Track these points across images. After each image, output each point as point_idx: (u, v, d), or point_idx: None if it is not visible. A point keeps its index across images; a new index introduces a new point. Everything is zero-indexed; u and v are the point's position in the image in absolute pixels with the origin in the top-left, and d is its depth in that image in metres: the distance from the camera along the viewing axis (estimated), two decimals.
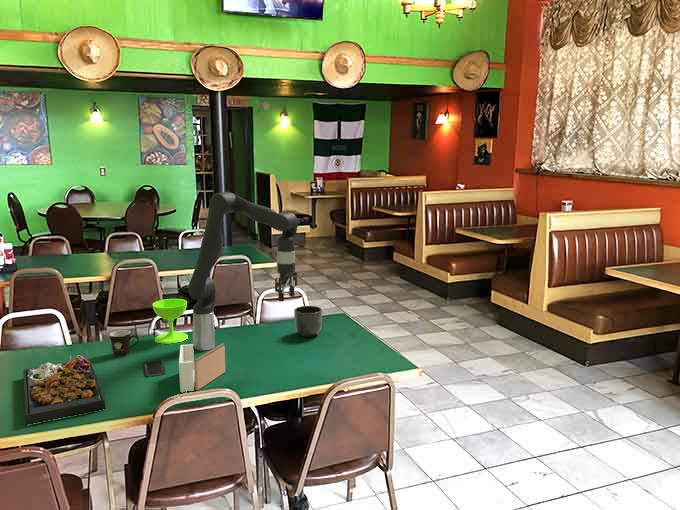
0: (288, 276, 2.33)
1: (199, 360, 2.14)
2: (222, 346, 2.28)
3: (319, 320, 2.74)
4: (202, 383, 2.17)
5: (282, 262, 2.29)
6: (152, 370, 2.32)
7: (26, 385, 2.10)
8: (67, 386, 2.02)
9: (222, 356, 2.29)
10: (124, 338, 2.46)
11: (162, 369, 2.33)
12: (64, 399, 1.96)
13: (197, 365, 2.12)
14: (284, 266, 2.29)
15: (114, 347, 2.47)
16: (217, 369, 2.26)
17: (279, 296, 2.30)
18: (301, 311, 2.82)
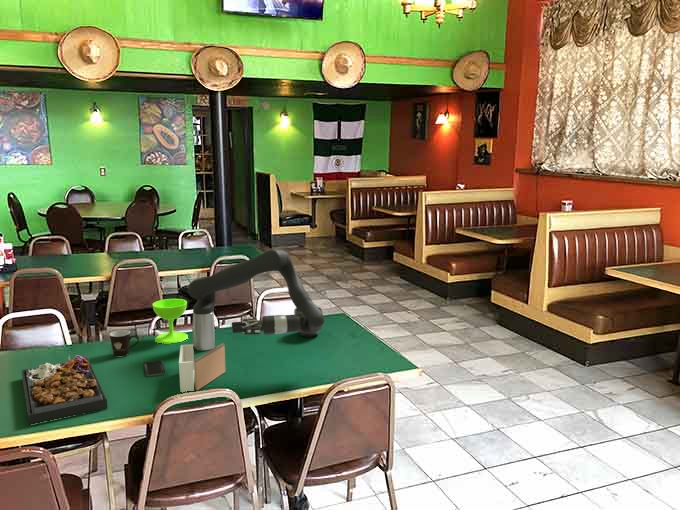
0: None
1: (199, 360, 2.14)
2: (222, 346, 2.28)
3: None
4: (202, 383, 2.17)
5: (276, 328, 2.21)
6: (152, 370, 2.32)
7: (26, 385, 2.09)
8: (68, 386, 2.02)
9: (222, 356, 2.29)
10: (124, 338, 2.46)
11: (162, 369, 2.33)
12: (66, 399, 1.97)
13: (197, 365, 2.12)
14: (272, 330, 2.21)
15: (114, 347, 2.47)
16: (217, 369, 2.26)
17: (238, 330, 2.17)
18: None
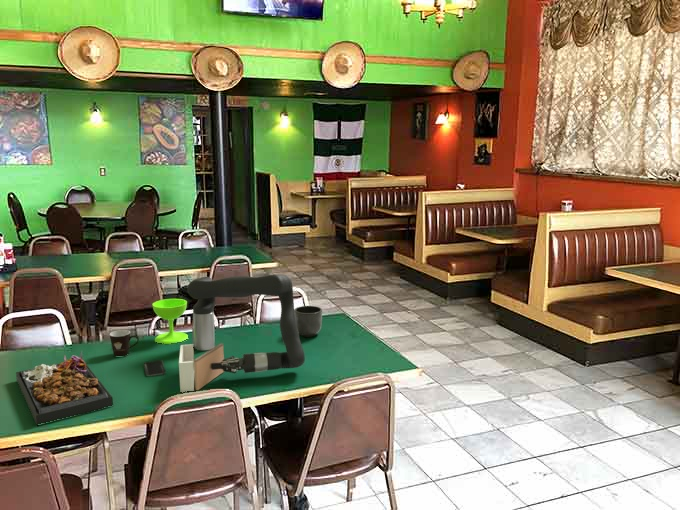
0: None
1: (199, 360, 2.14)
2: (221, 346, 2.28)
3: (319, 320, 2.74)
4: (202, 383, 2.17)
5: (256, 367, 2.22)
6: (152, 370, 2.32)
7: (25, 387, 2.08)
8: (71, 385, 2.03)
9: (221, 356, 2.29)
10: (124, 338, 2.46)
11: (162, 369, 2.33)
12: (71, 398, 1.97)
13: (196, 364, 2.12)
14: (252, 368, 2.22)
15: (114, 347, 2.47)
16: (216, 369, 2.26)
17: (217, 366, 2.21)
18: (301, 311, 2.82)
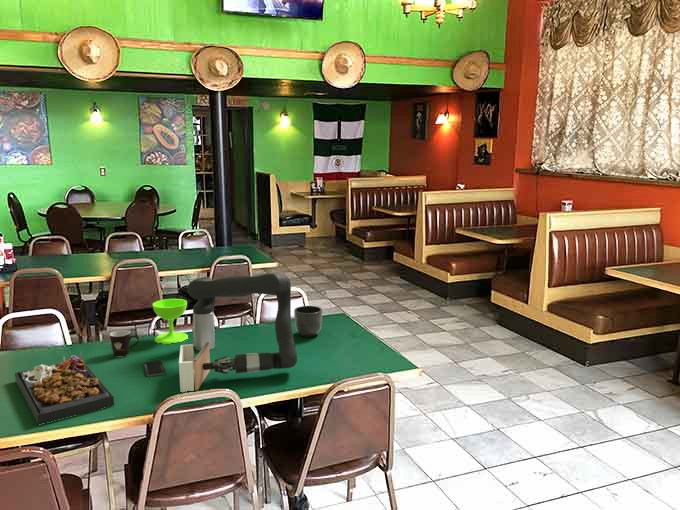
0: None
1: (197, 360, 2.14)
2: (208, 345, 2.29)
3: (319, 320, 2.74)
4: (199, 383, 2.17)
5: (248, 367, 2.22)
6: (152, 370, 2.32)
7: (25, 387, 2.08)
8: (72, 385, 2.03)
9: (208, 355, 2.30)
10: (124, 338, 2.46)
11: (162, 369, 2.33)
12: (72, 397, 1.97)
13: (196, 364, 2.12)
14: (244, 369, 2.22)
15: (114, 347, 2.47)
16: None
17: (209, 367, 2.20)
18: (301, 311, 2.82)
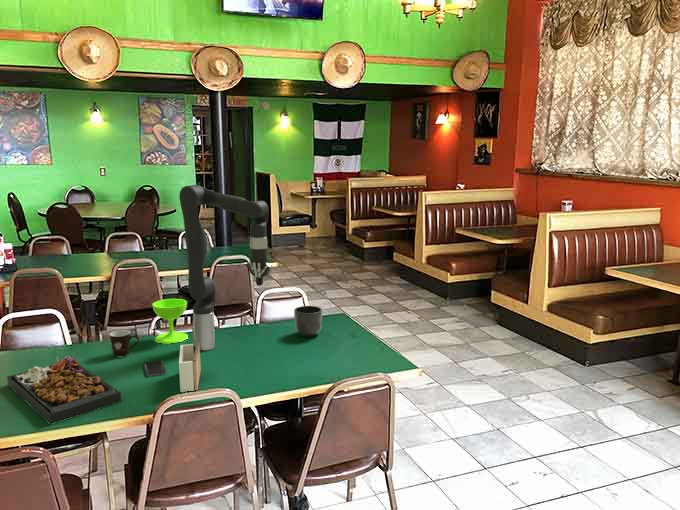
0: None
1: (196, 360, 2.14)
2: None
3: (319, 320, 2.74)
4: None
5: (266, 246, 2.42)
6: (152, 370, 2.32)
7: (24, 389, 2.06)
8: (76, 384, 2.04)
9: (199, 355, 2.30)
10: (124, 338, 2.46)
11: (162, 369, 2.33)
12: (79, 396, 1.99)
13: (196, 364, 2.12)
14: (266, 250, 2.43)
15: (114, 347, 2.47)
16: (199, 368, 2.27)
17: (261, 280, 2.45)
18: (301, 311, 2.82)
